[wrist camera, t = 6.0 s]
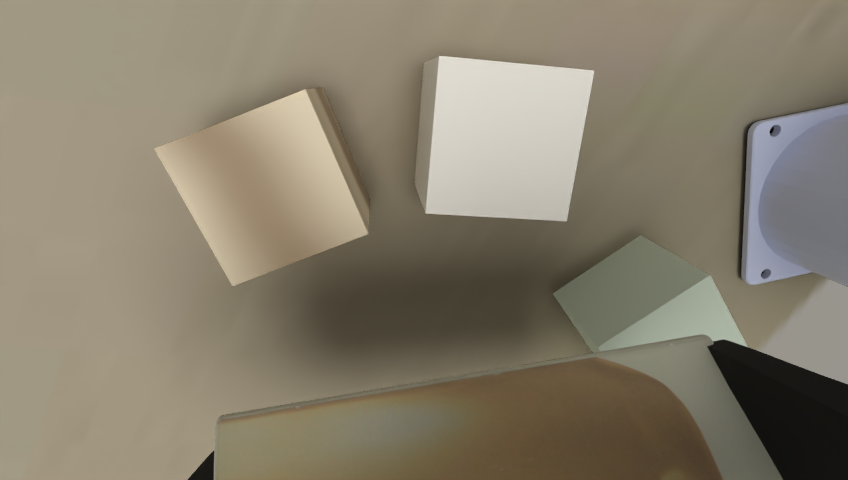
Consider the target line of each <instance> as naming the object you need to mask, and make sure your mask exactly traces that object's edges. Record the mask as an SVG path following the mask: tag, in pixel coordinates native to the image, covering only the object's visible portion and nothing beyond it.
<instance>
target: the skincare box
mask: <svg viewBox="0 0 848 480" xmlns="http://www.w3.org/2000/svg"><path fill="white" fill-rule="evenodd" d="M713 344H714V343H713V341H712V339H711V338H710V337H709V336H707V335H704V334H701V335H695V336H688V337H683V338H677V339H671V340H665V341H659V342H654V343H648V344H642V345H636V346H631V347H625V348H619V349H613V350H607V351H601V352H595V353H589V354H583V355H577V356H571V357H565V358H559V359H554V360H548V361H542V362H536V363H530V364H524V365H518V366H512V367H506V368H499V369H493V370H487V371H481V372H475V373H469V374H463V375H457V376H451V377H445V378H440V379H434V380H428V381H422V382H416V383H410V384H404V385H398V386H392V387H386V388H381V389H375V390H369V391H363V392H358V393H352V394H346V395H340V396H334V397H328V398H322V399H316V400H310V401H304V402H297V403H291V404H285V405H279V406H273V407H268V408H262V409H256V410H250V411H244V412H238V413H232V414H226V415H221V416H220V417H219V418H218V420H217V423H216V437H215V451H214V480H783V478H782V477H781V475H780V473H779V471H778V470H777V468H776V466H775V465H774V463H773V461H772V459H771V458H770V456H769V454H768V452H767V451H766V449H765V447H764V446H763V444H762V442H761V440H760V439H759V437H758V435H757V434H756V432H755V430H754V429H753V427H752V425H751V423H750V422H749V420H748V418H747V417H746V415H745V413H744V412H743V410H742V408H741V406H740V405H739V403H738V401H737V400H736V398H735V396H734V395H733V393H732V391H731V390H730V388H729V386H728V384H727V383H726V381H725V379H724V377H723V375H722V373H721V371H720V369H719V368H718V366H717V364H716V362H715V360H714V358H713V357H712V355H711V353H710V351H709V349H708V347H707V346H710V345H713Z"/></svg>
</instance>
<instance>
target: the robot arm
mask: <svg viewBox="0 0 848 480" xmlns="http://www.w3.org/2000/svg"><path fill="white" fill-rule="evenodd" d="M772 126H773V127H774V130H773V132H772V134H771V135H770V129H771V128H772ZM763 270H765V271H764V273H763V274H762V275H761V273H762V271H763ZM812 272H814V273H817V274H819V275H821V276H824V277H826V278H828V279H830V280H833V281H835V282H838V283H840V284H842V285H844V286H847V287H848V103H844V104H840V105H835V106H830V107H825V108H820V109H815V110H810V111H805V112H800V113H796V114H791V115H786V116H781V117H776V118H771V119H766V120H761V121H758V122H755V123H754V124H753V125H752V126H751V127H750V129H749V131H748V139H747V161H746V183H745V205H744V226H743V248H742V270H741V277H742V280H743V281H744V282H746V283H748V284H750V285H756V284H761V283H765V282H770V281H775V280H779V279H784V278H789V277H793V276H798V275H802V274H807V273H812ZM713 343H714V344H713V345H710V346H707V347H708V349H709V351H710V353H711V355H712V357H713V358H714V360H715V362H716V364H717V366H718V368H719V369H720V371H721V373H722V375H723V377H724V379H725V381H726V383H727V384H728V386H729V388H730V390H731V391H732V393H733V395H734V396H735V398H736V400H737V401H738V403H739V405H740V406H741V408H742V410H743V412H744V413H745V415H746V417H747V418H748V420H749V422H750V423H751V425H752V427H753V429H754V430H755V432H756V434H757V435H758V437H759V439H760V440H761V442H762V444H763V446H764V447H765V449H766V451H767V452H768V454H769V456H770V458H771V459H772V461H773V463H774V465H775V466H776V468H777V470H778V471H779V473H780V475H781V477H782V478H783V480H848V384H845V383H842V382H839V381H836V380H834V379H831V378H828V377H825V376H822V375H819V374H817V373H814V372H811V371H809V370H806V369H804V368H801V367H798V366H796V365H793V364H790V363H788V362H785V361H783V360H780V359H777V358H774V357H772V356H769V355H767V354H764V353H762V352H759V351H756V350H754V349H751V348H748V347H746V346H743V345H740V344H737V343H734V342H731V341H728V340H725V339H723V340H718V341H713ZM188 480H214V451H213V452H212V453H211V454H210V455H209V456H208V457H207V458H206V459H205V461H204V462H203V463H202V464H201V465H200V466H199V467H198V468H197V470H196V471H195V472H194V473H193V474H192V475H191V477H190V478H189V479H188Z"/></svg>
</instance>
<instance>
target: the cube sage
mask: <svg viewBox="0 0 848 480" xmlns="http://www.w3.org/2000/svg"><path fill="white" fill-rule="evenodd" d="M553 295H554V297H555V298H556V300H557V301H558V302H559V304H560V305H561V307H562V308H563V310H564V311H565V313H566V314H567V316H568V317H569V319H570V320H571V322H572V323H573V325H574V326H575V328H576V329H577V331H578V332H579V333H580V335H581V336H582V338H583V339H584V341H585V342H586V344H587V345H588V347H589V348H590V350H591V351H592V353H595V352H601V351H607V350H613V349H619V348H625V347H631V346H636V345H642V344H648V343H654V342H659V341H665V340H671V339H677V338H683V337H688V336H695V335H701V334H704V335H707V336H709V337H710V338H711V339H712V341H718V340H723V339H725V340H728V341H731V342H734V343H737V344H740V345H743V346H746V347H747V345H746V343H745V341H744V339H743V337H742V335H741V333H740V331H739V329H738V327H737V325H736V324H735V322H734V320H733V318H732V316H731V314H730V312H729V310H728V308H727V306H726V304H725V302H724V300H723V299H722V297H721V295H720V293H719V291H718V289H717V287H716V285H715V283H714V281H713V279H712V277H711V276H710V275H709V274H708V273H706V272H704V271H702V270H701V269H699V268H697V267H695V266H694V265H692V264H690V263H689V262H687V261H685V260H683V259H682V258H680V257H678V256H676V255H675V254H673V253H671V252H669V251H668V250H666V249H664V248H662V247H661V246H659V245H657V244H655V243H654V242H652V241H650V240H649V239H647V238H645V237H643V236H642V235H640V236H638V237H637V238H635V239H634V240H632V241H631V242H629V243H628V244H626V245H625V246H623V247H622V248H620V249H619V250H617V251H616V252H614V253H613V254H611V255H610V256H608V257H607V258H605V259H604V260H602V261H601V262H599V263H598V264H596V265H595V266H593V267H592V268H590V269H589V270H587V271H586V272H584V273H583V274H581V275H580V276H578V277H577V278H575V279H574V280H572V281H571V282H569V283H568V284H566V285H565V286H563V287H562V288H560V289H559V290H557V291H556V292H554V293H553Z"/></svg>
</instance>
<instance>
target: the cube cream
mask: <svg viewBox="0 0 848 480" xmlns="http://www.w3.org/2000/svg"><path fill="white" fill-rule="evenodd" d="M593 75H594V71H593V70H582V69H572V68H561V67H551V66H540V65H530V64H519V63H509V62H498V61H488V60H477V59H467V58H456V57H446V56H438V57H436V58H433V59H431V60H429V61H427V62H424V67H423V80H422V93H421V106H420V119H419V132H418V145H417V158H416V171H415V187H416V190H417V192H418V195H419V197H420V200H421V203H422V205H423V208H424V211H425V213H426V214H443V215H461V216H479V217H497V218H515V219H533V220H551V221H567V217H568V211H569V206H570V200H571V195H572V189H573V184H574V179H575V173H576V168H577V162H578V157H579V151H580V146H581V140H582V135H583V130H584V124H585V119H586V113H587V108H588V102H589V97H590V91H591V86H592V80H593Z"/></svg>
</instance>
